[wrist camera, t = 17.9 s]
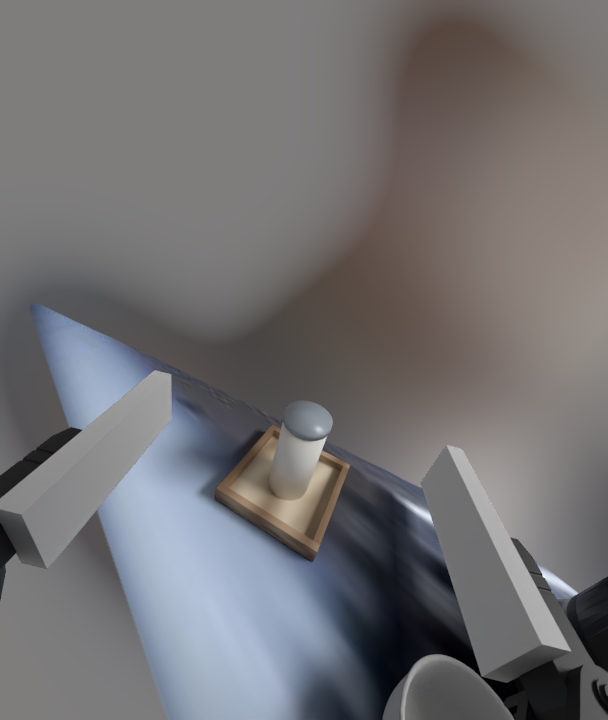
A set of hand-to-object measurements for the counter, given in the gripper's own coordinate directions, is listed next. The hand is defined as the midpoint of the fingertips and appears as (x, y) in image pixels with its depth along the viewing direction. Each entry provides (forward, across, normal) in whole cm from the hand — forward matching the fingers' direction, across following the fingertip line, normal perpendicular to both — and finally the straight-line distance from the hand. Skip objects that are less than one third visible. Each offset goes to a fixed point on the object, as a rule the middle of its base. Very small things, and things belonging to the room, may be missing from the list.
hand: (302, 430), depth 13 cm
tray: (+19, +2, -30) cm, 36 cm away
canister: (+19, +2, -29) cm, 35 cm away
